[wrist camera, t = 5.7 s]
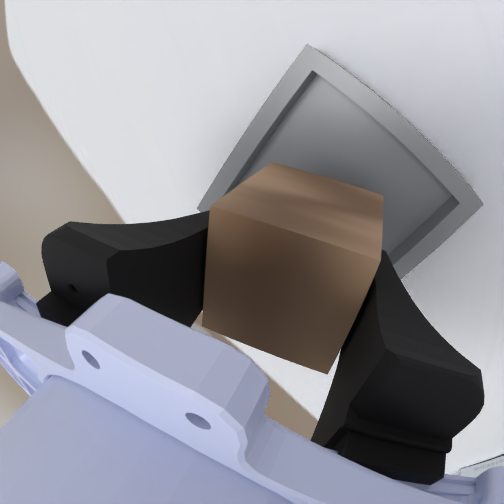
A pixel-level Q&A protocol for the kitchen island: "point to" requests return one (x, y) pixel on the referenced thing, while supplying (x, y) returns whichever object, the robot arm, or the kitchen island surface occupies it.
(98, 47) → the kitchen island surface
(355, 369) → the robot arm
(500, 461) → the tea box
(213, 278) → the walnut block
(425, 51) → the kitchen island surface
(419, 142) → the tray
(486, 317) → the kitchen island surface
